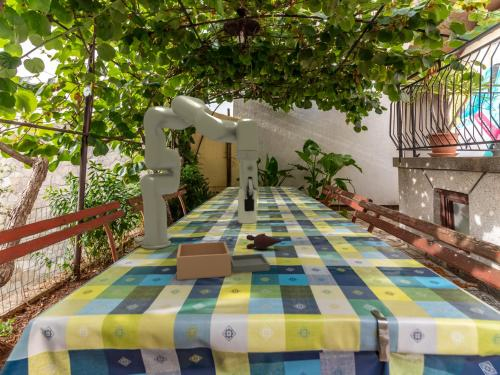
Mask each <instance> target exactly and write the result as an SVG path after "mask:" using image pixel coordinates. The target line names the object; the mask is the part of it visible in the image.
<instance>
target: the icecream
mask: <svg viewBox="0 0 500 375" xmlns="http://www.w3.org/2000/svg"><path fill="white" fill-rule="evenodd" d="M245 238H246V240H248V241H251V243H248V244H246V249H247V250H248V249H249V250H252V249H254V248H257V249H259V250H263V251H266V250H267V248H269V247H271V246H274V245H277V244H279V243H281V242H282V240H280V239H278V238H275V237H271V236H268V235H266V234H265V233H260V234H257V235H256V236H254V235H253V234H248V235H246V236H245ZM252 242H253V243H252Z"/></svg>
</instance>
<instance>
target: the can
mask: <svg viewBox="0 0 500 375" xmlns="http://www.w3.org/2000/svg"><path fill="white" fill-rule="evenodd" d="M254 189H255V188H253V190H254ZM246 190H249V188H247V189H246ZM247 193H248V192H247ZM257 198H258V192H257V190H254V211H245V207H244V199H245V190H243V189H242V188H240V187H239V190H238V192H237V223H239V224H241V225H251V224H252V225H253V224H256V223H257V222H258V220H257V214H258V213H257V211H258V209H257V207H258V206H257V204H258V201H257V200H258V199H257Z"/></svg>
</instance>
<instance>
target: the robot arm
mask: <svg viewBox="0 0 500 375" xmlns="http://www.w3.org/2000/svg"><path fill="white" fill-rule="evenodd" d="M190 126H194V128H195V130H196V131H197V132H198V133H199V134H200V135H201V136H203V137H205V138H207V139H209V140H211V141H213V142H219V143H228V144H229V143H230V144H235V159H236V160H235V161H236V162H239V189H240V188H242V189H243V190H245V199H244V207H245V211H254V190H256V191H257V190H258V189H259V182H258V181H259V180H258V179H259V178H258V165H257V164H258V163H257V161H259V123H258V121H257V120H256V119H254V118H239V119H238V120H237V121H234V120H228V119H222V118H217V117H215V116H213V115H212V111H211V109H210V107H208V106H207V105H206V103H205V102H204V101H203V100H202V99H200V98H197V97H193V96H188V95H184V94H182V95H177V96H175V97H174V98H173V99H172V100H171V104H170V107H167V106H160V105H157V106H156V105H155V106H152V107H150V108H148V109H147V110H146V112H145V113H144V115H143V129H144V136H145V138H144V139H145V142H144V166H145V167H146V169H147V170H151V171H164V172H163V173H162V172H161V173H160V172H157V173H155V172H153V173H148V174H145V175H143V176H142V178H141V179H140V181H139V187H140V192H141V196H142V203H143V221H144V222H143V226H144V229H143V230H144V235H143V236H142V237H139V236H137V237H134V239H133V240H134V241H133V242H134V243H140V246H141V248H143V249H147V250H157V249H163V248H167V247H170V246H171V245H172V241H171V240H168V223H167V222H168V218H167V216H168V212H167V203H166V200H165V198H163V196H164V195H171V194H175V193H176V192H177V191H178V190H179V187H180V183H181V182H180V181H181V165H182V162H181V156H180V153H179V152H178V151H177V150H175V149H172V148H167V137H166V135H165V134H166V133H165V132H164V130H163V129H167V130H177V131H179V130H180V131H181V130H184V129H187V128H188V127H190ZM247 188H249V190H246V189H247ZM253 188H255V189H254V190H253ZM247 192H248V193H247Z"/></svg>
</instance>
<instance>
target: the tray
mask: <svg viewBox="0 0 500 375" xmlns="http://www.w3.org/2000/svg"><path fill="white" fill-rule="evenodd" d="M270 270H271V266H270V262H269V261H268V259H267V258H266V257H265V256H264V254H263V253H250V254H235V255H233V254H232V255H231V271H232V272H233V274H238V273H252V272H254V273H255V272H266V271H270Z"/></svg>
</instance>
